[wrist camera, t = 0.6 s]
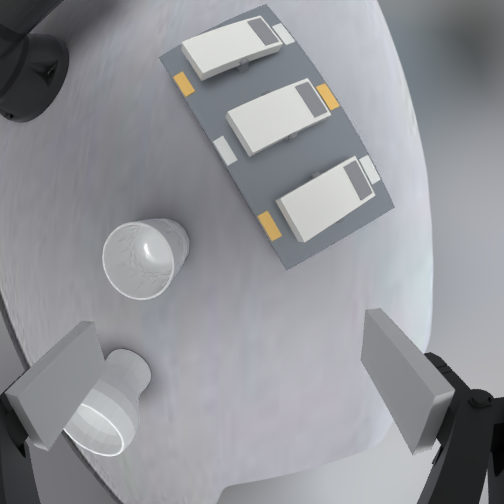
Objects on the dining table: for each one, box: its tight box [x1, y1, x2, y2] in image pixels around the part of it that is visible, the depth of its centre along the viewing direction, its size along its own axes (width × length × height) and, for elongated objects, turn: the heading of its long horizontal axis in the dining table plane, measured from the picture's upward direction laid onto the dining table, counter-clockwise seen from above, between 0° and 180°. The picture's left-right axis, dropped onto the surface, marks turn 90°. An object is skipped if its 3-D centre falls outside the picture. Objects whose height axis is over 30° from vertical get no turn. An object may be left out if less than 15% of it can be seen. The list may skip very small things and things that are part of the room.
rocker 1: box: [181, 16, 283, 81], centre depth 25 cm, size 5×9×2 cm, turn 120°
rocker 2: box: [225, 78, 331, 157], centre depth 26 cm, size 5×9×2 cm, turn 120°
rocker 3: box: [275, 156, 375, 242], centre depth 28 cm, size 5×9×2 cm, turn 120°
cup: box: [64, 349, 151, 456], centre depth 35 cm, size 11×11×15 cm
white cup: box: [102, 218, 190, 300], centre depth 33 cm, size 8×8×10 cm
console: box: [159, 4, 394, 270], centre depth 31 cm, size 28×14×8 cm, turn 30°
